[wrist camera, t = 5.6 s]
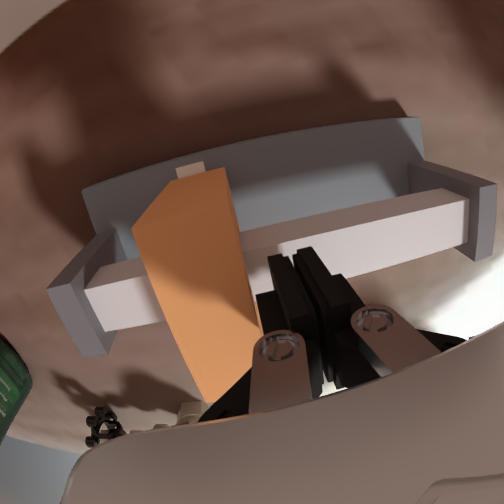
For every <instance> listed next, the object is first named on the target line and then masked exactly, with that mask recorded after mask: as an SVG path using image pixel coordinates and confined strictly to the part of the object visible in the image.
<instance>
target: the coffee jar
mask: <svg viewBox="0 0 504 504" xmlns="http://www.w3.org/2000/svg"><path fill="white" fill-rule="evenodd" d="M31 388H32V378H31V376H30V374H29V372H28V370H27V368H26V366H25V365H24V363H23V361H22V360H21V358H20V357H19V356H18V355H17V354H16V352H15V351H13V350H12V349H11V348H10V347H9V346H8V345H7V344H6V343H5V342H3V341H2V340H1V339H0V445H1V442H2V441H3V439H4V437H5V435H6V433H7V431H8V429H9V427H10V425H11V423H12V421H13V419H14V418H15V416H16V414H17V413H18V411H19V409H20V408H21V406H22V404H23V403H24V401H25V399H26V397H27V396H28V394H29V392H30V390H31Z"/></svg>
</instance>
